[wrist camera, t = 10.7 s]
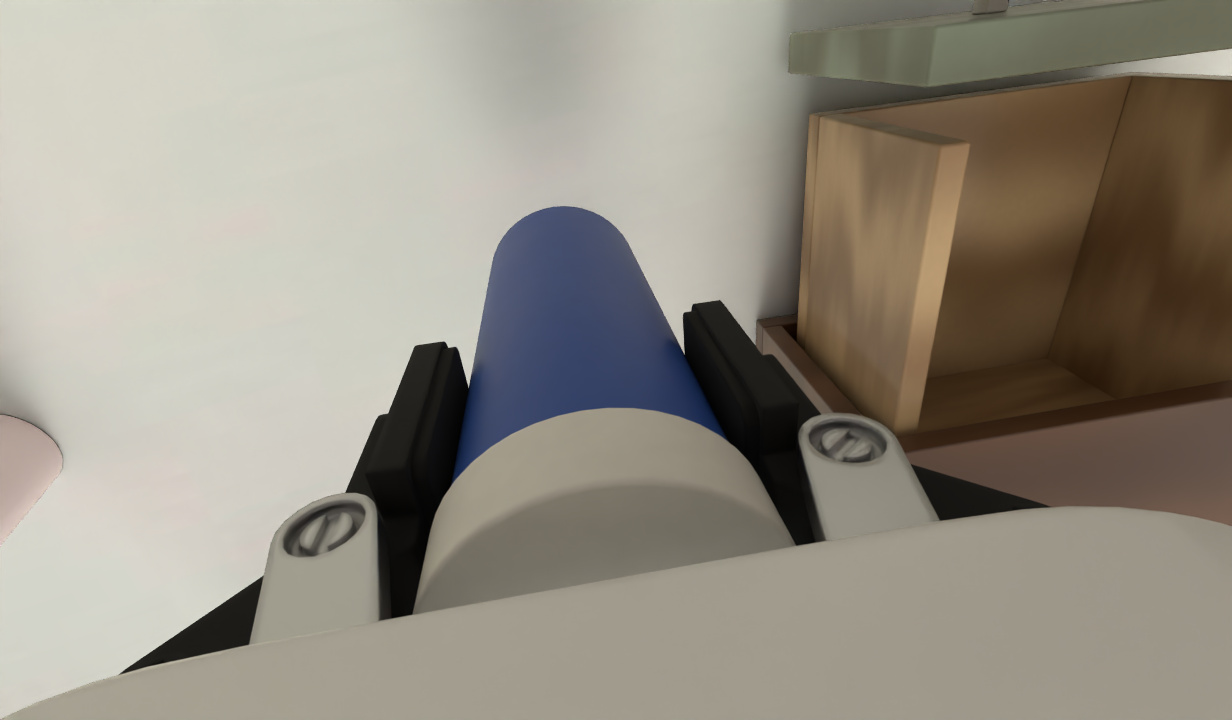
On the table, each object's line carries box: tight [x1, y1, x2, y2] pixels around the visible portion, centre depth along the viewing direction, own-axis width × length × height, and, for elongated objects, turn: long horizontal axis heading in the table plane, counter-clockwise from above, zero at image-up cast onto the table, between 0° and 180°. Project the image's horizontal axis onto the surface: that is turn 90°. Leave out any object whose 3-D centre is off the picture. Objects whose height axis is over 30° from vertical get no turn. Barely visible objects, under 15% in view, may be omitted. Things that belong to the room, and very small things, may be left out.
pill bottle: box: [413, 206, 796, 615], centre depth 12 cm, size 5×5×12 cm
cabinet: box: [756, 314, 1232, 526], centre depth 25 cm, size 16×15×10 cm
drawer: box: [788, 0, 1232, 437], centre depth 18 cm, size 19×13×8 cm
